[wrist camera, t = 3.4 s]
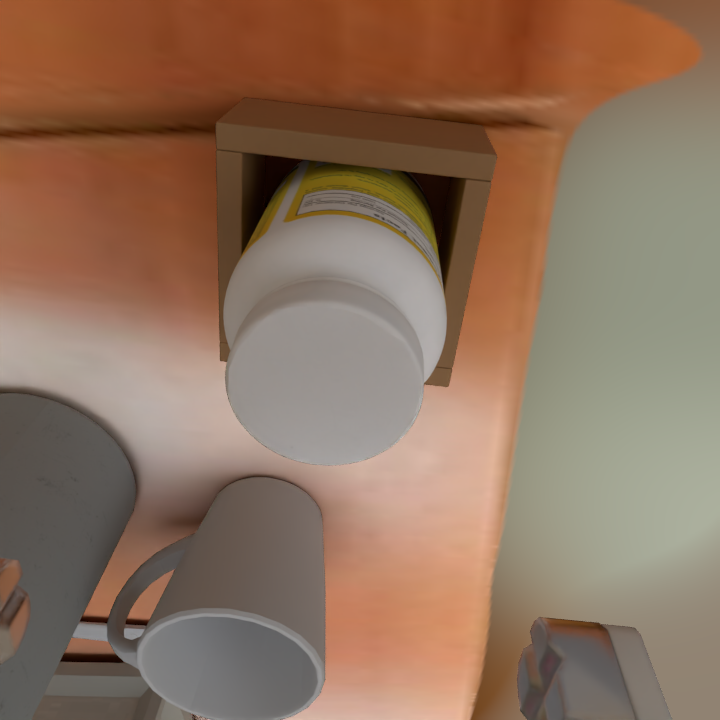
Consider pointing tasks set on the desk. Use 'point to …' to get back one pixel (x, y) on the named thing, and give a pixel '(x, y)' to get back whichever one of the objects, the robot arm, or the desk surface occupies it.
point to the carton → (359, 148)
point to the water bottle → (55, 529)
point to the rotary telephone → (103, 695)
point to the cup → (235, 608)
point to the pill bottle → (335, 314)
